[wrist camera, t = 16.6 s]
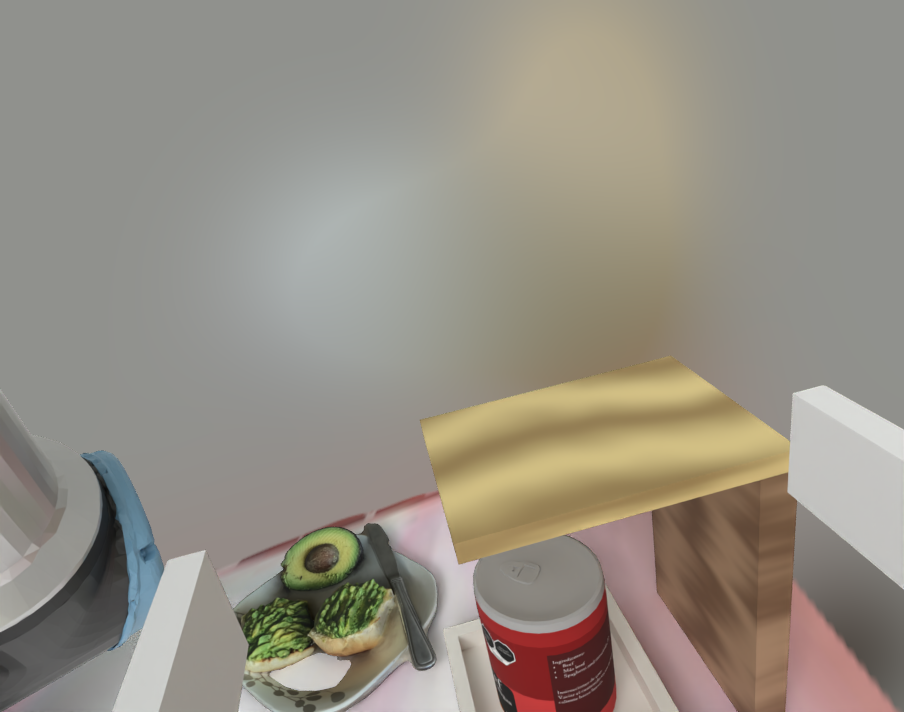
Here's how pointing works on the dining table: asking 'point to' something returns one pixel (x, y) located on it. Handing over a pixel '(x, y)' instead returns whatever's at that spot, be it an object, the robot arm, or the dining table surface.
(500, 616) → the canned food
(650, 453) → the wooden l-shaped stand
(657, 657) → the dining table surface
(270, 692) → the salad plate
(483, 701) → the shallow square white tray
